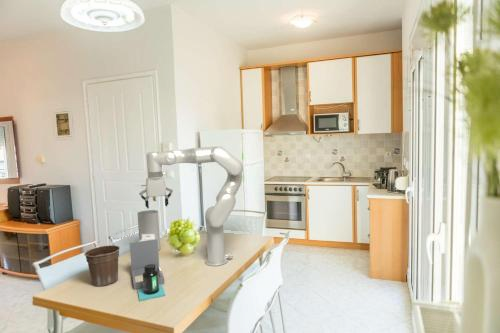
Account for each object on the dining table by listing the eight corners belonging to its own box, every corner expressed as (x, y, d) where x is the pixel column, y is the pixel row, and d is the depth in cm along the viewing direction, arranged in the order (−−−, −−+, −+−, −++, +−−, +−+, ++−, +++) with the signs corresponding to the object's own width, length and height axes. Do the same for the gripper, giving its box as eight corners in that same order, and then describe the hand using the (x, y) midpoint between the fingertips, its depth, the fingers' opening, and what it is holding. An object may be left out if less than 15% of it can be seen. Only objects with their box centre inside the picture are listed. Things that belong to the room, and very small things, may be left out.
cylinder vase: (135, 252, 211) (133, 213, 209) (148, 246, 222) (146, 209, 220) (151, 254, 206) (149, 214, 204) (164, 248, 218) (161, 210, 216)
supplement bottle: (158, 293, 149) (157, 267, 148) (143, 295, 148) (141, 269, 147) (159, 287, 156) (158, 262, 155) (144, 289, 155) (142, 264, 154)
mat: (162, 286, 159) (161, 284, 159) (165, 295, 149) (165, 294, 149) (137, 291, 155) (137, 289, 155) (139, 301, 145) (139, 299, 145)
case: (159, 269, 180) (157, 239, 179) (164, 283, 162) (162, 249, 161) (131, 274, 175) (129, 242, 174) (134, 289, 157) (131, 254, 155)
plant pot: (82, 290, 158) (79, 257, 157) (91, 277, 174) (89, 247, 173) (118, 286, 161) (116, 253, 160) (124, 273, 177) (122, 243, 176)
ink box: (139, 261, 195) (137, 236, 194) (142, 258, 200) (141, 234, 199) (153, 261, 194) (151, 236, 193) (156, 258, 199) (155, 233, 198)
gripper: (170, 173, 184) (172, 204, 185) (137, 175, 177) (139, 207, 178) (172, 174, 177) (174, 206, 178) (138, 177, 170) (140, 210, 171)
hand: (157, 207), depth 178 cm, fingers open, 9 cm apart
